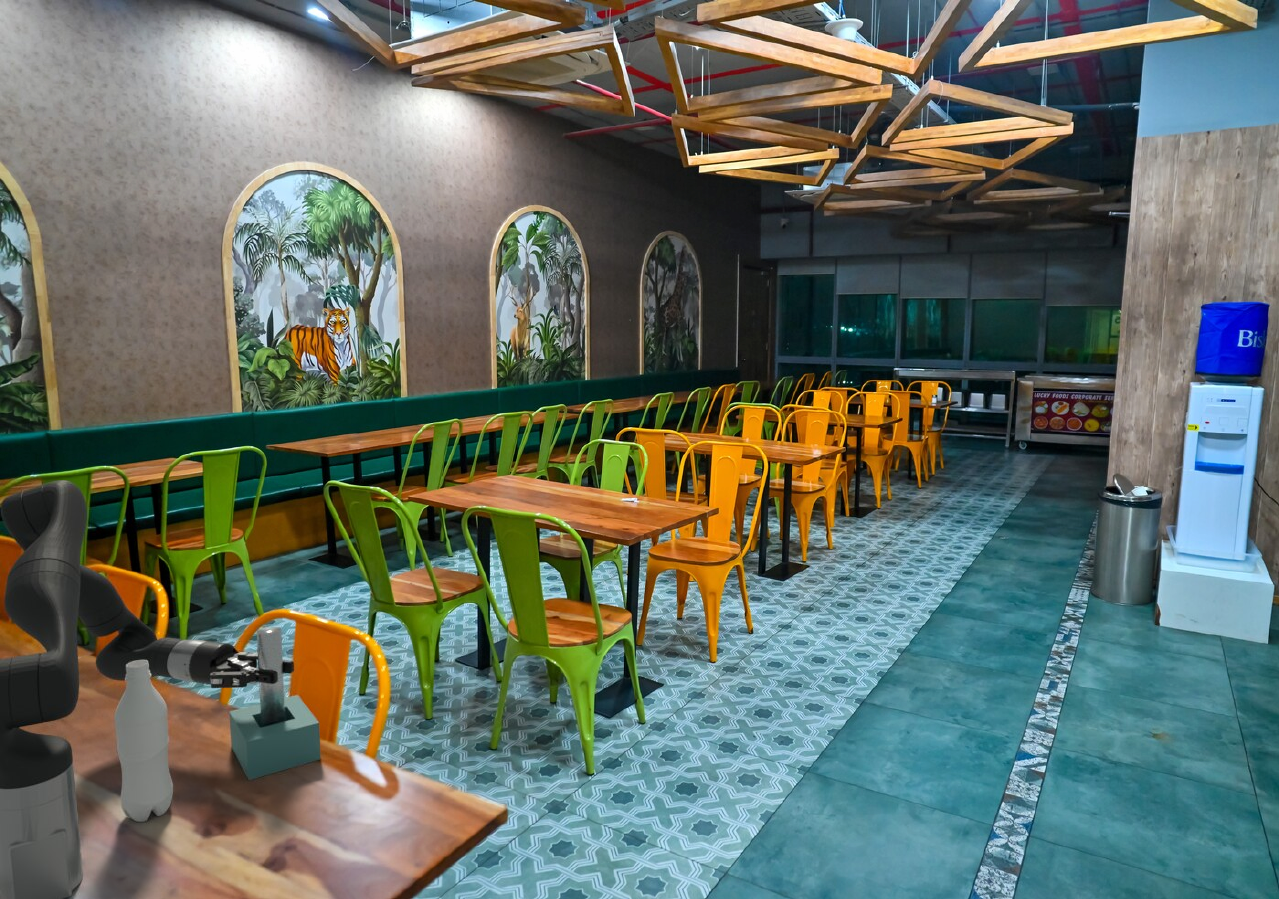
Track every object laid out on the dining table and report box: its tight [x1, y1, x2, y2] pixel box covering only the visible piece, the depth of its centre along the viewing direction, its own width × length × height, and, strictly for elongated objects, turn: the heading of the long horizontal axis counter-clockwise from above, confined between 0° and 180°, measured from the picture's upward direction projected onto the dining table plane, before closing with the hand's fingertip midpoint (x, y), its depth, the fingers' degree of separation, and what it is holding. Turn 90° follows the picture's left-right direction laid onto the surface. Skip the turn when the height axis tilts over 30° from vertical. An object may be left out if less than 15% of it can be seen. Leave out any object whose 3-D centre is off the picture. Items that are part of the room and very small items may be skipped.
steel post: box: [256, 626, 285, 728], centre depth 148 cm, size 4×4×18 cm
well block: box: [229, 694, 322, 781], centre depth 150 cm, size 14×12×7 cm
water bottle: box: [113, 660, 174, 823], centre depth 130 cm, size 7×7×25 cm
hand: (284, 672), depth 148 cm, fingers closed on steel post, 4 cm apart
